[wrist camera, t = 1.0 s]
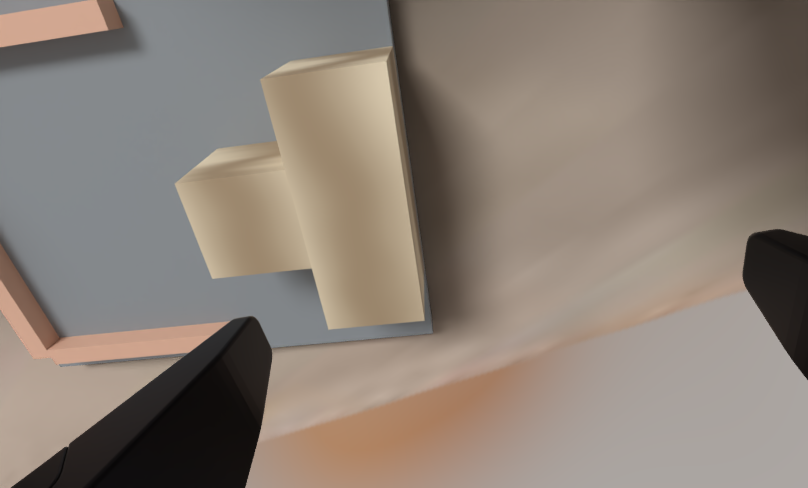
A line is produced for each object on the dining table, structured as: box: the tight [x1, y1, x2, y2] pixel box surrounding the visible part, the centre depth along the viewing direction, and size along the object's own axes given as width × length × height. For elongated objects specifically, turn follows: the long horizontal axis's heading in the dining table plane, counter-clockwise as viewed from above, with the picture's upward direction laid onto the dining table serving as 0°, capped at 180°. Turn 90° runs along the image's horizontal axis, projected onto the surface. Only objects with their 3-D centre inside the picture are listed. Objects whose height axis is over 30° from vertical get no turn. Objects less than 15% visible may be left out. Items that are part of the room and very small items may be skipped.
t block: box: [175, 46, 425, 330], centre depth 19 cm, size 8×10×4 cm
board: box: [0, 0, 433, 367], centre depth 21 cm, size 21×18×2 cm
